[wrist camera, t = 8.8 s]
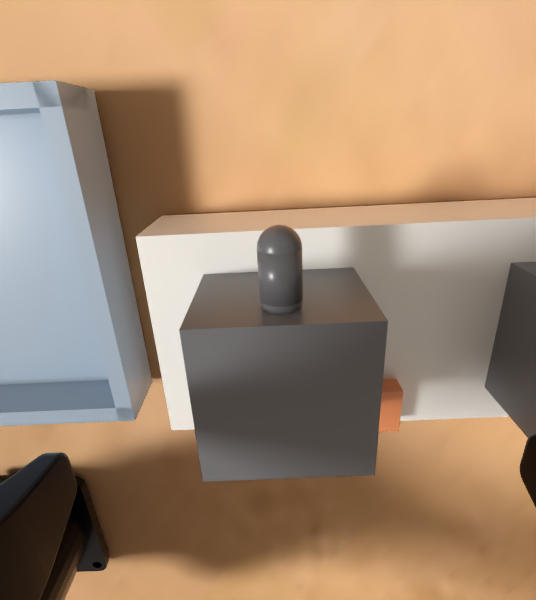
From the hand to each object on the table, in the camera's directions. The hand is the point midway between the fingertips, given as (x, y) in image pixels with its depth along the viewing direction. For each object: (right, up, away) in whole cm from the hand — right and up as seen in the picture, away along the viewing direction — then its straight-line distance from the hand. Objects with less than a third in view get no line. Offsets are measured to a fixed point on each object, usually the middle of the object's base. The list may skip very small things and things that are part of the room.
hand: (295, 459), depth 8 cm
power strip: (+4, +4, +7) cm, 9 cm away
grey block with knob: (0, +3, +7) cm, 8 cm away
